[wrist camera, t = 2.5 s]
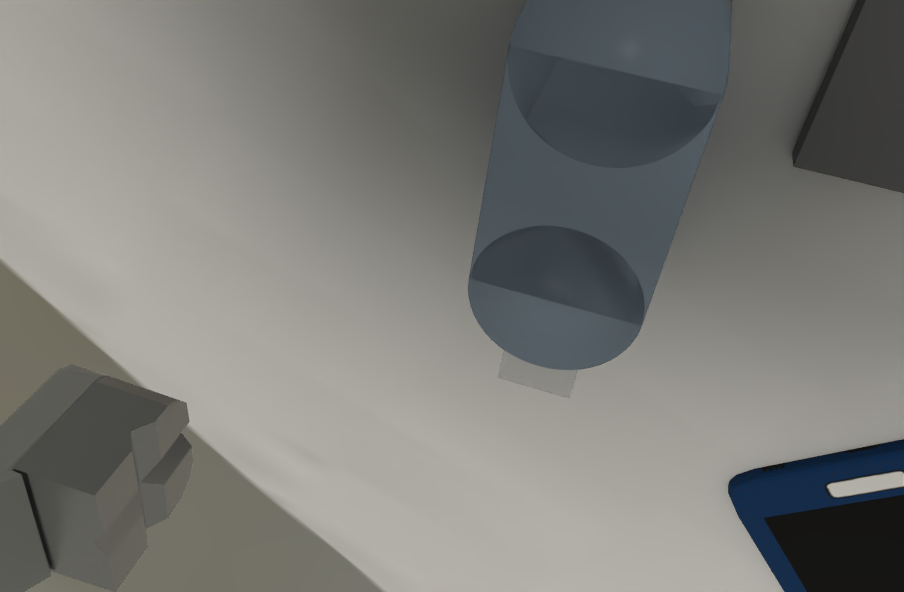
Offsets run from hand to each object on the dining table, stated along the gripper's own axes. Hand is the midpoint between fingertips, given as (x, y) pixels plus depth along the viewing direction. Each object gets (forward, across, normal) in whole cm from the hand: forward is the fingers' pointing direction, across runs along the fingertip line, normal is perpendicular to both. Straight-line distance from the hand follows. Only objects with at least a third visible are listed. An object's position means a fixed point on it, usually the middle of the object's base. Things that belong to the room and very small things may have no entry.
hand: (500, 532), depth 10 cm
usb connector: (+11, 0, 0) cm, 11 cm away
